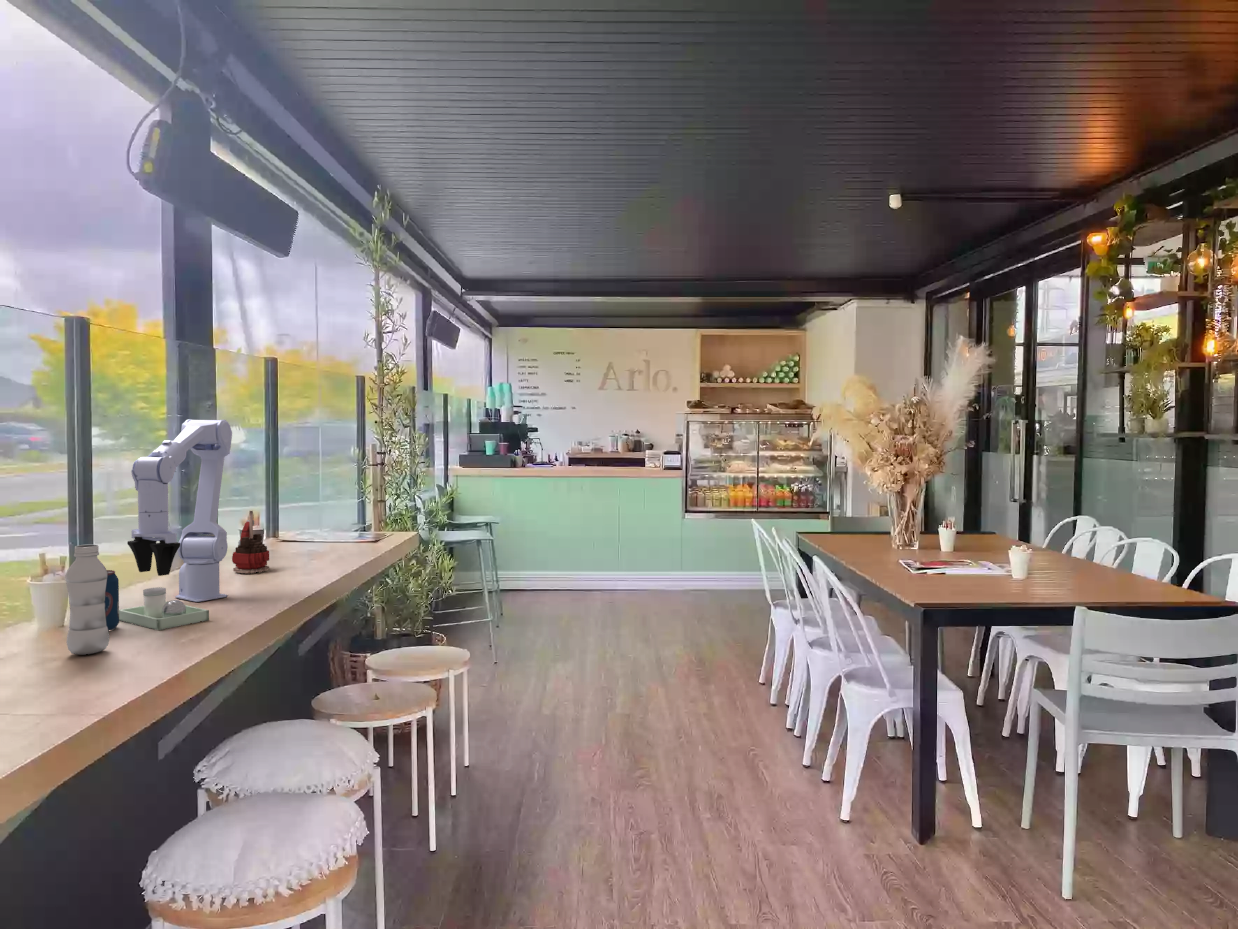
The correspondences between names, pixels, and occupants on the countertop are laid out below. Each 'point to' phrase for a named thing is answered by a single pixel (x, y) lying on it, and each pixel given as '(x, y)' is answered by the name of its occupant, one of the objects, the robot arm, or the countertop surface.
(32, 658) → the countertop surface
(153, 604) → the shaker
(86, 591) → the plastic bottle
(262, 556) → the cake
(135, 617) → the tray
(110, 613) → the soda can
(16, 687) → the countertop surface
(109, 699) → the countertop surface
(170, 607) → the ball
